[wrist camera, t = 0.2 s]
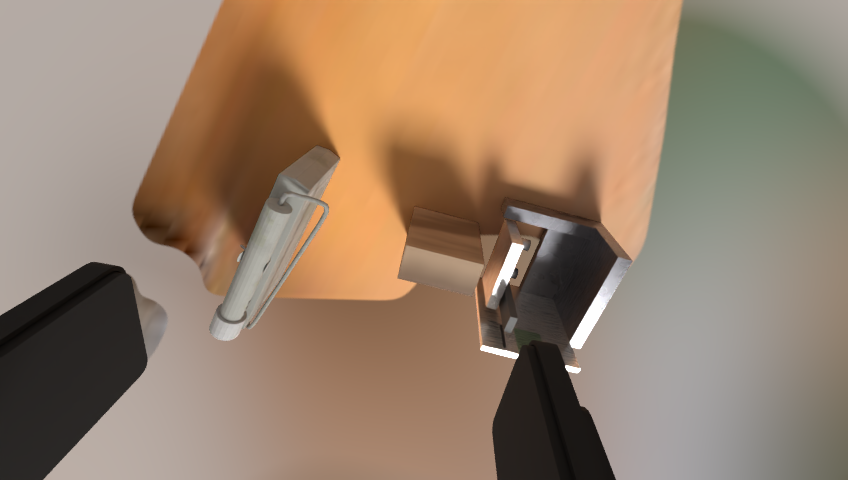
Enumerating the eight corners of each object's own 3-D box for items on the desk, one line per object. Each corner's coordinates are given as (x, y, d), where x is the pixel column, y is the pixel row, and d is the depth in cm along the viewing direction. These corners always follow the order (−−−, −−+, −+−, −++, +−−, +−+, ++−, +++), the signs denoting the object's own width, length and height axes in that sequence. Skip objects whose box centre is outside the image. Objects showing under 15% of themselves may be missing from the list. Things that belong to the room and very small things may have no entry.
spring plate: (505, 218, 45) (512, 242, 39) (527, 224, 45) (538, 249, 39) (482, 277, 48) (486, 307, 43) (503, 282, 49) (509, 312, 43)
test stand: (505, 197, 45) (523, 250, 34) (601, 222, 46) (651, 283, 35) (474, 279, 51) (480, 349, 39) (560, 301, 52) (591, 376, 40)
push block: (414, 206, 47) (406, 245, 38) (478, 222, 47) (484, 265, 38) (407, 234, 49) (397, 278, 40) (468, 250, 49) (472, 296, 40)
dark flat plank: (499, 265, 48) (510, 316, 39) (505, 267, 48) (517, 318, 39) (494, 278, 49) (503, 331, 40) (500, 280, 49) (511, 333, 40)
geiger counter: (252, 175, 31) (178, 364, 42) (323, 214, 32) (234, 388, 43) (309, 137, 44) (241, 291, 54) (359, 166, 45) (283, 311, 55)
